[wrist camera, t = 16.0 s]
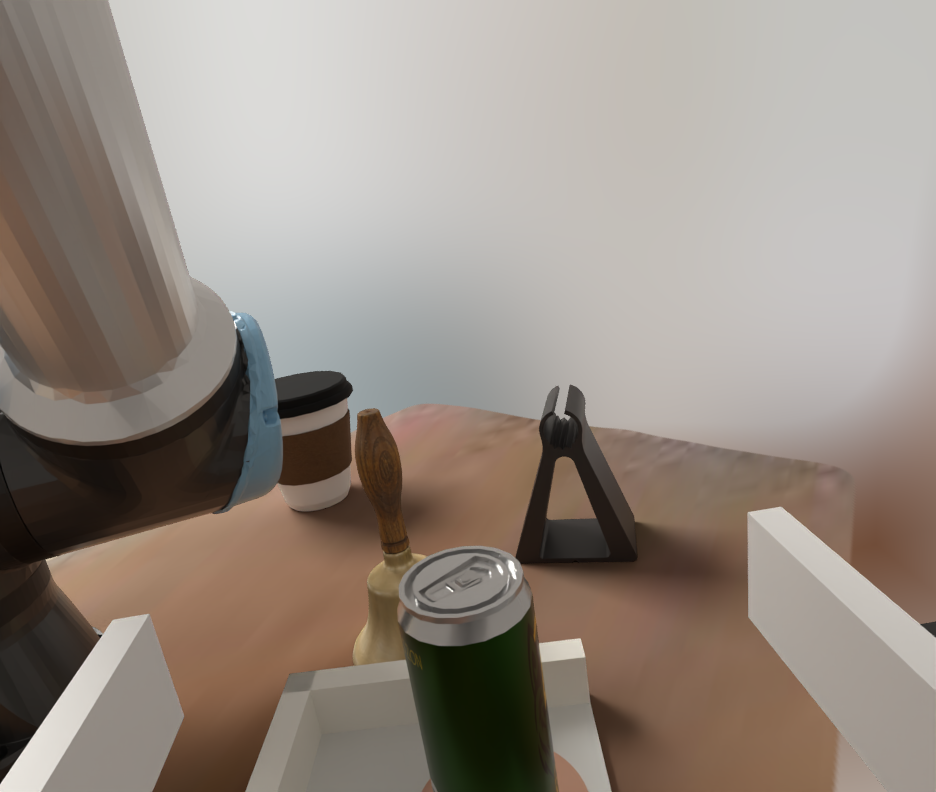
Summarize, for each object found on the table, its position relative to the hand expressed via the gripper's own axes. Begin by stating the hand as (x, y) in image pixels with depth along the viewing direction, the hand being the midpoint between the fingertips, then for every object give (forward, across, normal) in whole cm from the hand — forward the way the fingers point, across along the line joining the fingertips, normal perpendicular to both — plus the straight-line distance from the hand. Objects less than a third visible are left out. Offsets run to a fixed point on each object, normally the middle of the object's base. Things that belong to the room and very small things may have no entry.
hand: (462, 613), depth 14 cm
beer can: (+10, 0, -18) cm, 20 cm away
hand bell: (+24, -4, -19) cm, 31 cm away
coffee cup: (+50, -14, -20) cm, 55 cm away
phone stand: (+32, +9, -19) cm, 39 cm away
